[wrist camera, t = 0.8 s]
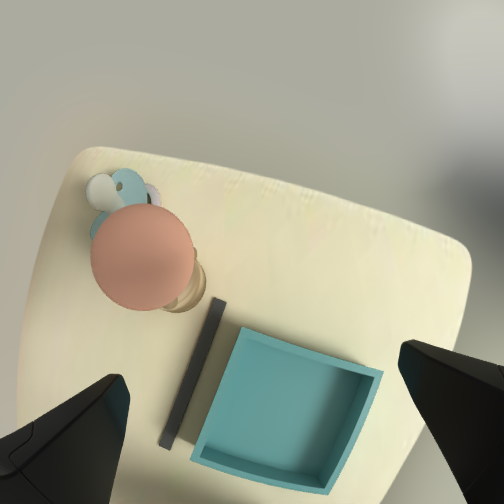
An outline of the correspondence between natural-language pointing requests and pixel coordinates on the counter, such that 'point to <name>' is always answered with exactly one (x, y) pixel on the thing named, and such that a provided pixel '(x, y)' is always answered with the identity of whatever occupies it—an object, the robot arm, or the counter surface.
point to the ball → (142, 257)
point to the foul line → (192, 373)
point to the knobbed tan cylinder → (189, 291)
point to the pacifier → (117, 194)
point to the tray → (285, 414)
